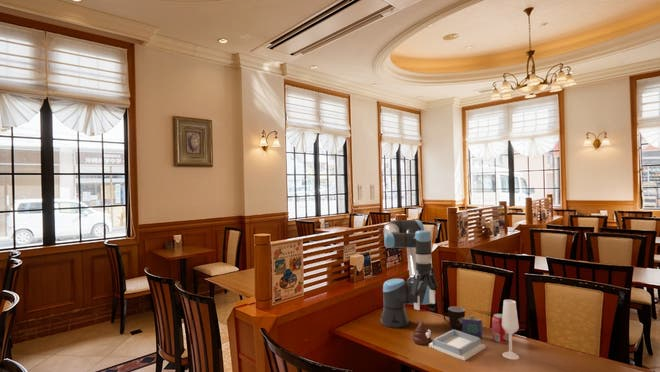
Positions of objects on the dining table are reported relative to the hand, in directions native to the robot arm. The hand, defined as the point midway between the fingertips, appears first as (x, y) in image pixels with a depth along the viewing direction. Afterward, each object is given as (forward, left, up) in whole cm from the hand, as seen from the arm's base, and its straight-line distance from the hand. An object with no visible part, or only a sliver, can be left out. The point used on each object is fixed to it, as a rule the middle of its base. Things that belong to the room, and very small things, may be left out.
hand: (424, 306), depth 174 cm
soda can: (+24, +26, -17) cm, 39 cm away
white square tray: (+14, +4, -17) cm, 22 cm away
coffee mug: (+1, +23, -17) cm, 29 cm away
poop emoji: (-1, -2, -17) cm, 17 cm away
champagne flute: (+34, +14, -17) cm, 41 cm away
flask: (+13, +20, -17) cm, 29 cm away
